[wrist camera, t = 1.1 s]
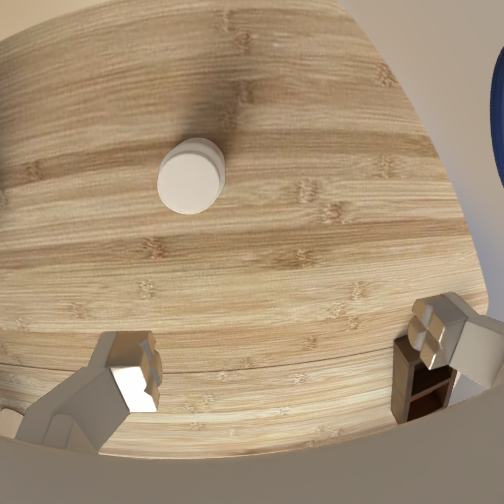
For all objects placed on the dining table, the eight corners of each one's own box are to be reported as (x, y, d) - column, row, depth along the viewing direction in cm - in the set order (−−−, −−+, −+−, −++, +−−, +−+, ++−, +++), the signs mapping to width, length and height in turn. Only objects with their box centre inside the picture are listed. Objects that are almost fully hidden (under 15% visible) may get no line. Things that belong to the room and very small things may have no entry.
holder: (393, 340, 38) (408, 362, 34) (447, 316, 38) (465, 335, 34) (390, 409, 45) (400, 429, 41) (435, 389, 45) (447, 407, 41)
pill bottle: (161, 149, 26) (138, 164, 18) (213, 128, 26) (210, 133, 18) (182, 198, 28) (169, 231, 20) (232, 178, 28) (237, 204, 20)
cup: (49, 444, 43) (31, 505, 30) (6, 428, 41) (-16, 484, 28) (34, 413, 39) (8, 482, 26) (-12, 395, 37) (-42, 456, 24)
